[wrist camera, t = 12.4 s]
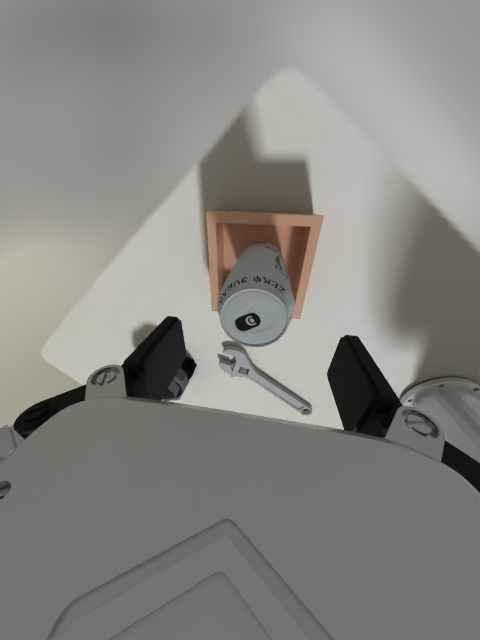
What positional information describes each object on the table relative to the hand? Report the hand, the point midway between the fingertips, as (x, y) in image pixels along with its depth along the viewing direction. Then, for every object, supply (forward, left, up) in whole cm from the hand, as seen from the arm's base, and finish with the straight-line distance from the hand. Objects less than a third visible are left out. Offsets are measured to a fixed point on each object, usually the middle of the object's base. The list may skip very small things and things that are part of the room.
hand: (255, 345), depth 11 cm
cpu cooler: (+18, +23, -19) cm, 35 cm away
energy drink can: (0, 0, -18) cm, 18 cm away
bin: (0, 0, -18) cm, 18 cm away
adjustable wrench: (-3, +25, -19) cm, 32 cm away
